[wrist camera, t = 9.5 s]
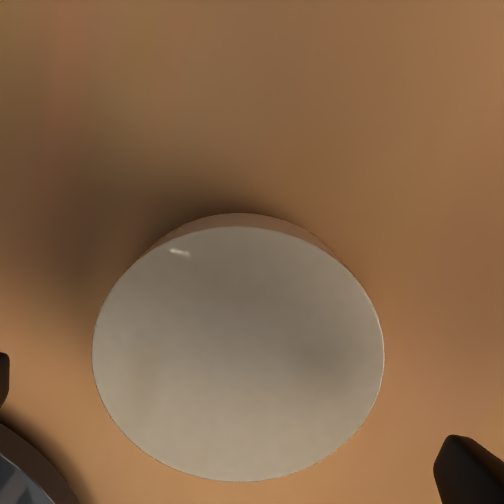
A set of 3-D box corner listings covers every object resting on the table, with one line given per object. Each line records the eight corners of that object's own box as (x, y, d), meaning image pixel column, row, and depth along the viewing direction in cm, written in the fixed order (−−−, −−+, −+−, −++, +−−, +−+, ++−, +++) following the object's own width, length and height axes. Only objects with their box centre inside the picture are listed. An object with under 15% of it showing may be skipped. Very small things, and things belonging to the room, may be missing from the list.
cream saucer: (299, 449, 12) (309, 513, 10) (94, 381, 11) (58, 435, 9) (402, 265, 10) (442, 296, 8) (166, 168, 9) (141, 174, 7)
